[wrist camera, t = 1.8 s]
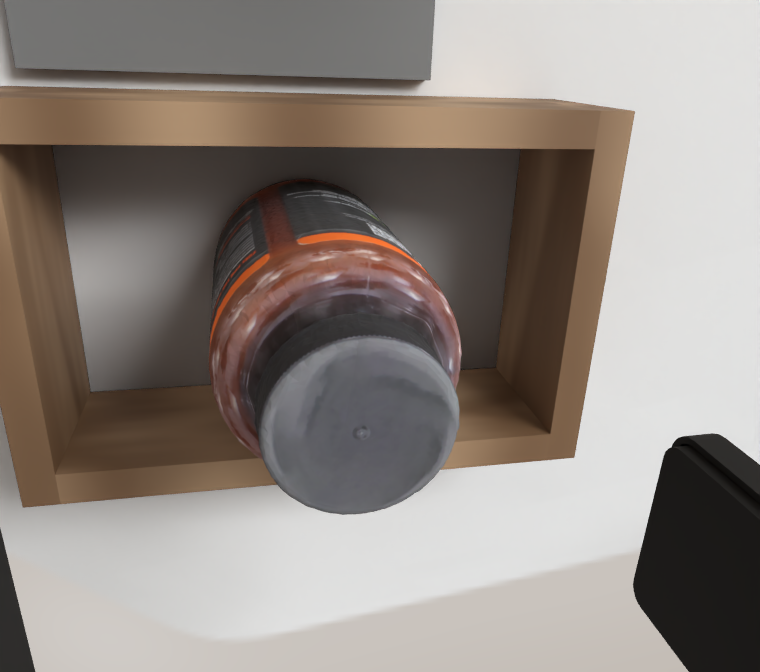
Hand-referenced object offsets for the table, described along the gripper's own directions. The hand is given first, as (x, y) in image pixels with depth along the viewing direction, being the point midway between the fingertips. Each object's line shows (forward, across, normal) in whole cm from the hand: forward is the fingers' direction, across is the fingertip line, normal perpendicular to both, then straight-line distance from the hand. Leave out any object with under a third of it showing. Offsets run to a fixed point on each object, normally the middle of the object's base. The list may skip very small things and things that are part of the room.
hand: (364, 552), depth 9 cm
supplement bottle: (+15, -1, 0) cm, 15 cm away
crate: (+15, -1, 0) cm, 15 cm away
